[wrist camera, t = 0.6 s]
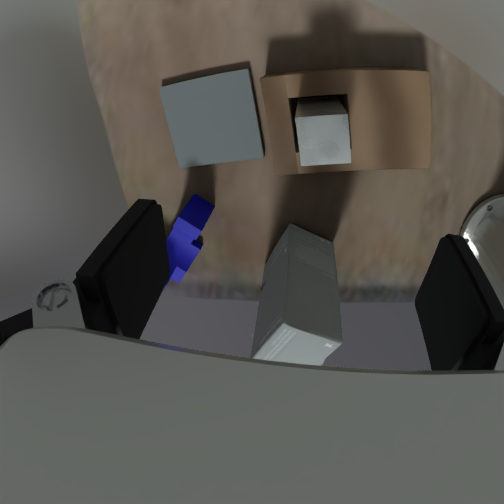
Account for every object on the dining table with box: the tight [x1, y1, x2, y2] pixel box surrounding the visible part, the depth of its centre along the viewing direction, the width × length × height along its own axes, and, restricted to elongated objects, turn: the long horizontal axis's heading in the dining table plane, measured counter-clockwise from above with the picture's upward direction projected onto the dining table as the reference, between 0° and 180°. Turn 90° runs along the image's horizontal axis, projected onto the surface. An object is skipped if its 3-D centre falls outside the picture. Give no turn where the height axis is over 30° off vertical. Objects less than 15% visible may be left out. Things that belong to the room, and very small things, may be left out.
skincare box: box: [250, 223, 342, 366], centre depth 36 cm, size 8×7×16 cm
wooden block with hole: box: [260, 68, 431, 176], centre depth 29 cm, size 16×10×4 cm, turn 100°
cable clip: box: [163, 194, 215, 290], centre depth 41 cm, size 12×4×6 cm, turn 147°
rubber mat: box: [159, 68, 265, 169], centre depth 33 cm, size 10×10×1 cm
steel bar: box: [295, 96, 351, 166], centre depth 28 cm, size 4×4×10 cm
